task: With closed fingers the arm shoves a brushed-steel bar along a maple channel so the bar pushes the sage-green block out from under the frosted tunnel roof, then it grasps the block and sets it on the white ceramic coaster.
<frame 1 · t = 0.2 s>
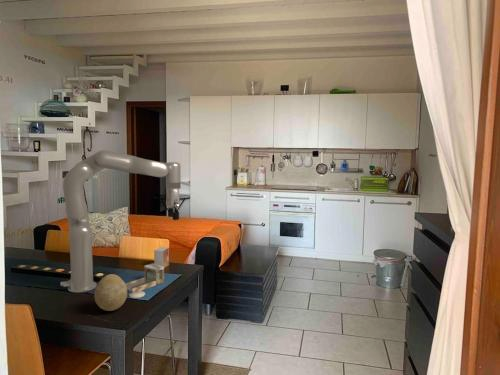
hand: (173, 218, 190), 31 cm above the table, fingers open, 9 cm apart
small box: (161, 267, 207), on the table
fossilized egg: (111, 309, 150), on the table
push bar: (139, 287, 176), on the table
block: (154, 281, 183), on the table
coaster: (137, 295, 166), on the table
tunnel: (154, 281, 183), on the table
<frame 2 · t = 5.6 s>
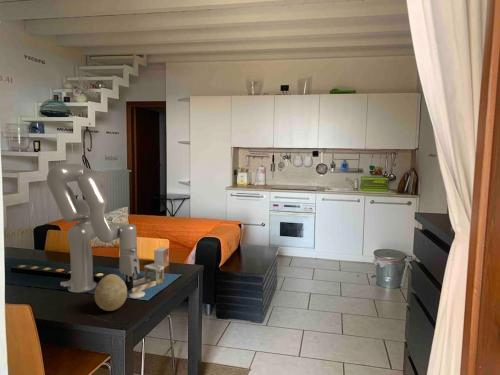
hand: (129, 288, 171), 1 cm above the table, fingers closed
push bar: (142, 286, 177), on the table
block: (156, 280, 184), on the table
everything else where it was.
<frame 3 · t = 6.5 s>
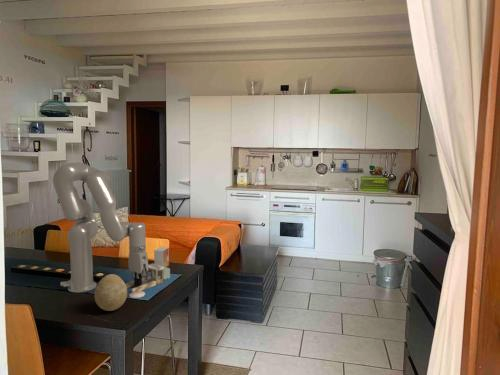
hand: (138, 285, 175), 1 cm above the table, fingers closed
push bar: (149, 282, 182), on the table, touching gripper
block: (163, 277, 189), on the table
everything else where it was.
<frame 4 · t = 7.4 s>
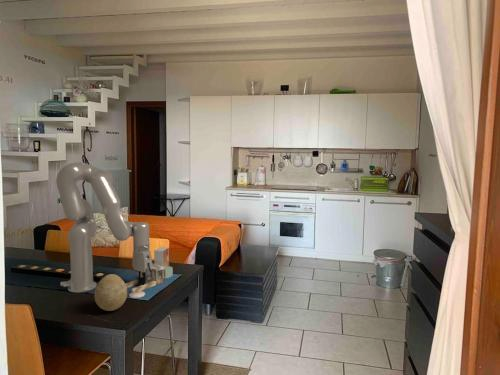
hand: (141, 284, 177), 1 cm above the table, fingers closed
push bar: (152, 281, 184), on the table
block: (165, 276, 191), on the table
everything else where it was.
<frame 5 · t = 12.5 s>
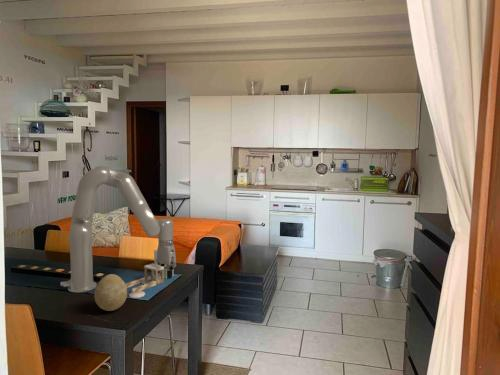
hand: (166, 276, 190), 0 cm above the table, fingers closed on block, 5 cm apart
block: (166, 276, 190), on the table, touching gripper
everything else where it was.
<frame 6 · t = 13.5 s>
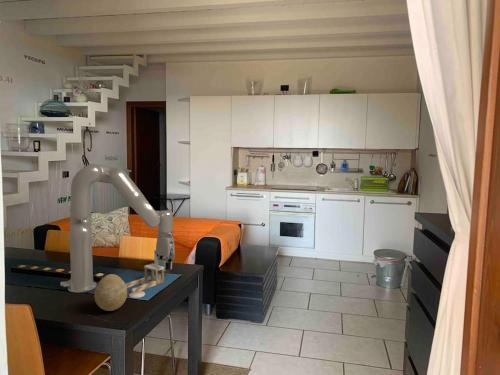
hand: (164, 268, 189), 5 cm above the table, fingers closed on block, 5 cm apart
block: (164, 268, 189), point 4 cm above the table, touching gripper
everything else where it was.
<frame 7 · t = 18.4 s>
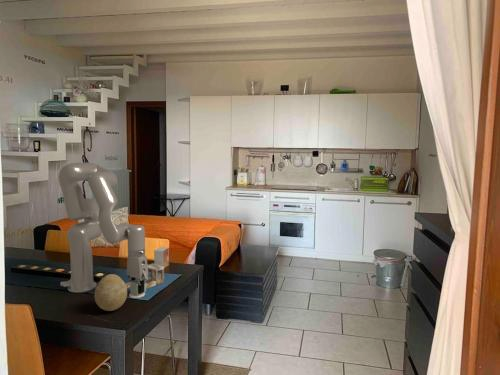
hand: (137, 290, 165), 2 cm above the table, fingers closed on block, 4 cm apart
block: (138, 291, 166), point 2 cm above the table, touching gripper
everything else where it was.
when the fingers open (2 cm above the table, at t = 18.6 s): block stays where it is, resting on coaster.
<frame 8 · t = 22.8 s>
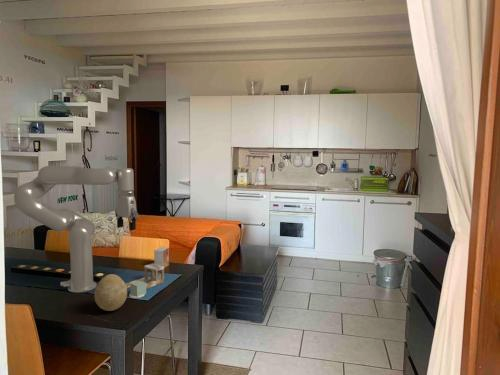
hand: (126, 228, 175), 28 cm above the table, fingers open, 9 cm apart
block: (138, 293, 166), point 1 cm above the table, touching coaster
everything else where it was.
at the end: block 0.6 cm from the coaster (horizontally); block point 0.6 cm above the table; the gripper is holding nothing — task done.
